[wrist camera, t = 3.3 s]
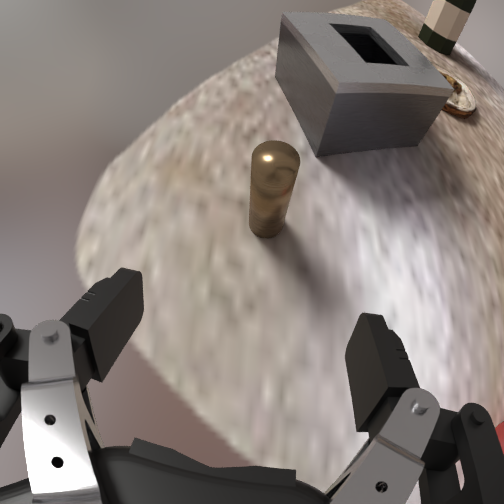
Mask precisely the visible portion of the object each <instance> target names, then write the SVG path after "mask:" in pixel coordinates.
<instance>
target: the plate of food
mask: <svg viewBox="0 0 504 504" xmlns="http://www.w3.org/2000/svg"><path fill="white" fill-rule="evenodd" d="M431 63H432V62H431ZM432 64H433V65H434V66H435V68H436V69H437V70H438V71H439V72H440V73H441V74H442V75H443V76H444V78H445V79H446V80H447V81H448V82H449V83H450V85H451V86H452V87H453V88H454V91H453V93H452V94H451V96H450V97H449V99H448V100H447V102H446V104H445V105H444V107H443V108H442V110H445V111H446V112H449V113H450V114H453V115H457V116H458V117H460V118H464V119H465V118H468V116H471V115H472V113H473V112H475V110H476V101H475V97H474V96H473V94H472V92H471V91H470V89H469V88H468V87H467V85H466V84H464V83H463V82H462V81H461V80H460V79H459V78H457V77H456V76H454V75H453V74H451V73H450V72H448V71H447V70H445V69H443V68H442V67H440V66H439V65H438V66H437V64H435V63H432Z"/></svg>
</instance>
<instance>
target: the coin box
mask: <svg viewBox="0 0 504 504" xmlns="http://www.w3.org/2000/svg"><path fill="white" fill-rule="evenodd" d="M275 78H276V79H277V81H278V83H279V85H280V87H281V89H282V90H283V92H284V94H285V96H286V98H287V100H288V102H289V104H290V106H291V108H292V109H293V111H294V113H295V115H296V117H297V119H298V121H299V123H300V125H301V127H302V129H303V131H304V133H305V135H306V138H307V140H308V142H309V144H310V146H311V148H312V150H313V152H314V154H315V157H319V156H326V155H334V154H341V153H349V152H357V151H366V150H375V149H385V148H396V147H408V146H418V144H419V143H420V141H421V140H422V138H423V137H424V135H425V134H426V132H427V131H428V129H429V128H430V126H431V125H432V123H433V122H434V120H435V119H436V117H437V116H438V114H439V113H440V111H441V110H442V108H443V107H444V105H445V104H446V102H447V100H448V99H449V97H450V96H451V94H452V93H453V91H454V88H453V87H452V86H451V85H450V83H449V82H448V81H447V80H446V79H445V78H444V76H443V75H442V74H441V73H440V72H439V71H438V70H437V69H436V68H435V66H434V65H433V64H432V63H431V62H430V61H429V60H428V59H427V58H426V57H425V56H424V55H423V54H422V53H421V52H420V51H419V50H418V49H417V48H416V47H415V46H414V45H413V44H412V43H411V42H410V41H409V40H408V39H407V38H406V37H405V36H404V35H402V34H401V33H400V32H399V31H398V30H397V29H396V28H395V27H394V26H392V25H391V24H390V23H389V22H388V21H387V20H384V19H377V18H371V17H363V16H355V15H345V14H333V13H316V12H315V13H314V12H282V15H281V25H280V34H279V44H278V53H277V63H276V72H275Z"/></svg>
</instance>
